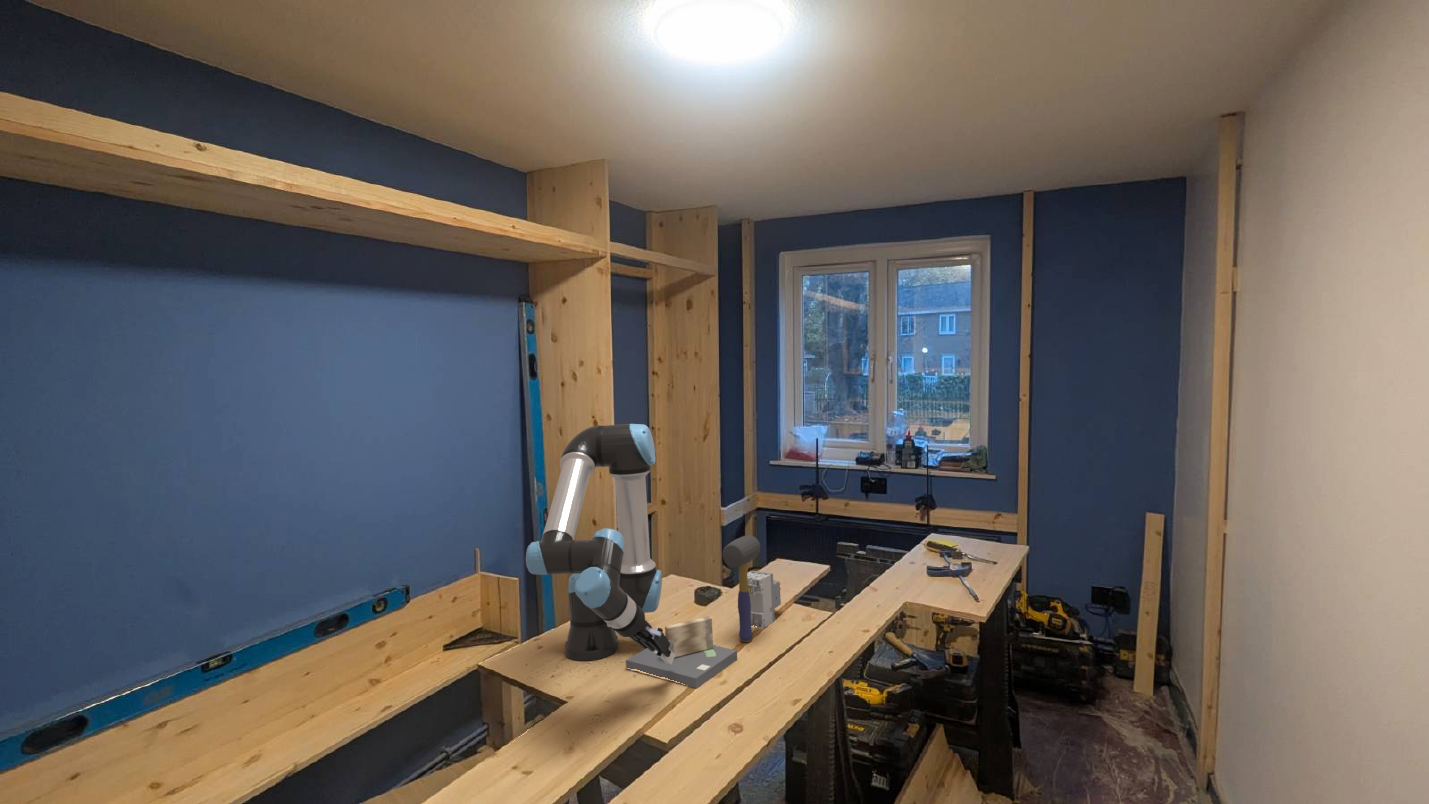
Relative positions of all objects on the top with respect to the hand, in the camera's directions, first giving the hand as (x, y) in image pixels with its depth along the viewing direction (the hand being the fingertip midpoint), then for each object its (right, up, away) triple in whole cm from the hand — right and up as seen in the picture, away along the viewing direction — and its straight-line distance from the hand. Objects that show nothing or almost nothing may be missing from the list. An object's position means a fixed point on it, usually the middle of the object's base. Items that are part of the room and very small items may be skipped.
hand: (671, 659), depth 161 cm
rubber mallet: (+20, -5, +24) cm, 32 cm away
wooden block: (+4, -3, +11) cm, 12 cm away
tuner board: (+2, -6, +10) cm, 12 cm away
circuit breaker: (+26, -4, +40) cm, 48 cm away
